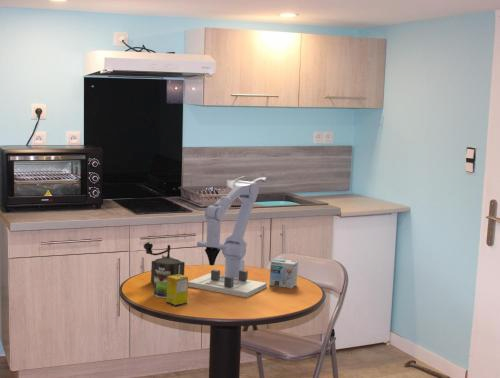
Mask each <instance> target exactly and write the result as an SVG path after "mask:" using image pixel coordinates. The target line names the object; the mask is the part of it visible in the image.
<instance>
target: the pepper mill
mask: <svg viewBox="0 0 500 378" xmlns="http://www.w3.org/2000/svg"><path fill="white" fill-rule="evenodd" d="M153 246H154V244H153V243H152V242H145V243H144V244H143V249H145V254H146V255H148V254H149V255H150V256H159V255H162V256H161V258H172V259H175V258H173V257H171V256H170V253H171V250H172V249H171V245H170V244H168V245H166V246H167V248H166V249H165V250H162V251H161V252H158V253H157V252H156V253H154V252H153V250H152V249H153ZM166 253H167V256H164V254H166ZM185 265H186V263H185V261H182V260H180V274H181V275H183V276H185ZM150 272H151V274H150V276H151V277H150V282H151V283H153V284H154V272H155V260H152V261H151V269H150Z"/></svg>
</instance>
